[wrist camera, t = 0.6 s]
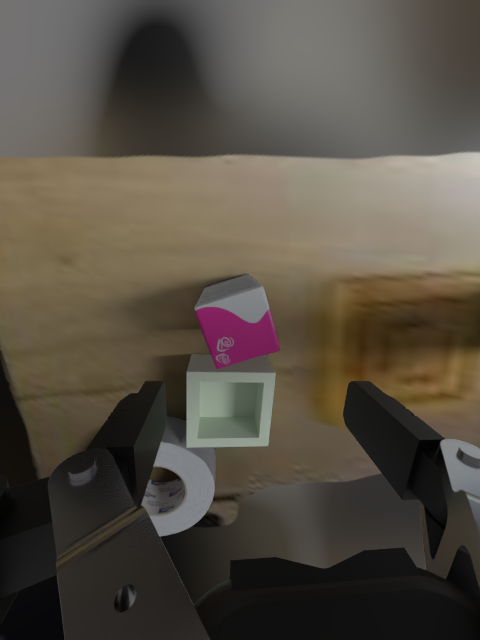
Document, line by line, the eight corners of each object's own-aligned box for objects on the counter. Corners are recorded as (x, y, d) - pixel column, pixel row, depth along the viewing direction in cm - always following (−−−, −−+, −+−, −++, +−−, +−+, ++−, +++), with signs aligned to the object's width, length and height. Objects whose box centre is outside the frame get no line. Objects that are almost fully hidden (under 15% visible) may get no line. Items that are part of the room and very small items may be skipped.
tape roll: (85, 456, 33) (62, 490, 29) (167, 395, 32) (158, 419, 27) (159, 516, 37) (150, 554, 32) (236, 462, 36) (238, 495, 31)
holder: (267, 355, 32) (275, 372, 27) (261, 419, 34) (268, 446, 29) (191, 354, 31) (186, 371, 26) (191, 420, 33) (186, 447, 28)
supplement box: (202, 287, 29) (191, 305, 18) (248, 273, 29) (267, 282, 18) (217, 330, 30) (216, 372, 19) (261, 317, 30) (285, 350, 19)
